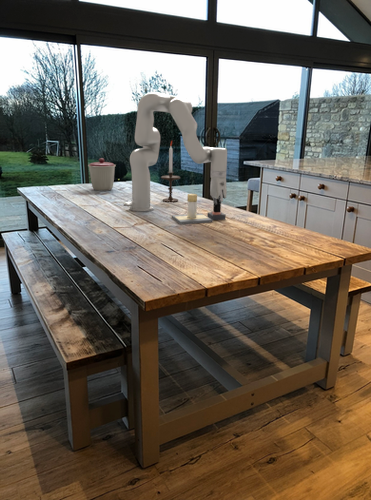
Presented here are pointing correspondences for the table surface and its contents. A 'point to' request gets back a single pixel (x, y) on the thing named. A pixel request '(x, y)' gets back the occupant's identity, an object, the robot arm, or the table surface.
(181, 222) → the board
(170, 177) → the candlestick
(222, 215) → the button housing
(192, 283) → the table surface
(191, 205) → the marker
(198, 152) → the robot arm
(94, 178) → the canister
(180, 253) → the table surface
